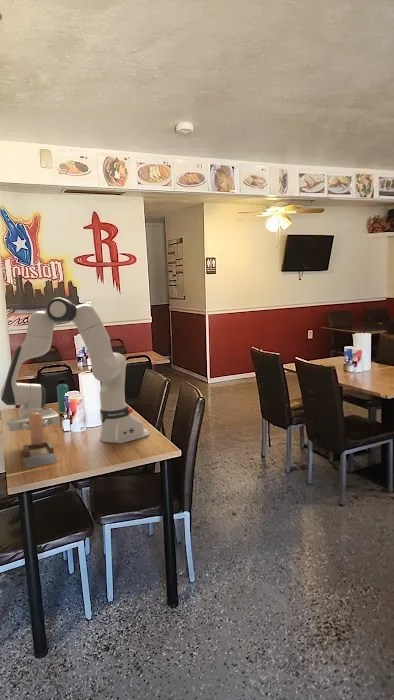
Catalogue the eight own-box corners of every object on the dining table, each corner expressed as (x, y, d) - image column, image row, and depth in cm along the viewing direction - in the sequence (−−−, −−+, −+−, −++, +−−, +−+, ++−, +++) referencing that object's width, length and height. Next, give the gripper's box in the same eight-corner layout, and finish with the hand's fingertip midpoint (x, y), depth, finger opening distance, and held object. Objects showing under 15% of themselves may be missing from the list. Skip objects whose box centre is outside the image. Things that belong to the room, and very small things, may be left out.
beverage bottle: (67, 415, 257) (64, 380, 254) (56, 415, 258) (53, 380, 255) (73, 412, 263) (69, 377, 260) (62, 412, 265) (59, 377, 262)
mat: (52, 453, 197) (52, 452, 197) (57, 462, 187) (57, 461, 187) (23, 459, 192) (22, 458, 192) (26, 469, 181) (26, 467, 181)
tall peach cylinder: (43, 439, 192) (40, 411, 190) (46, 445, 185) (43, 416, 183) (30, 441, 190) (27, 413, 188) (32, 447, 182) (30, 418, 181)
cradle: (49, 445, 208) (49, 440, 207) (53, 453, 198) (53, 447, 198) (23, 450, 203) (23, 445, 203) (26, 458, 193) (26, 452, 193)
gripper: (5, 415, 194) (8, 423, 182) (55, 407, 203) (61, 415, 191) (6, 429, 195) (9, 438, 183) (56, 421, 204) (62, 429, 191)
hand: (36, 426), depth 187 cm, fingers closed on tall peach cylinder, 5 cm apart
